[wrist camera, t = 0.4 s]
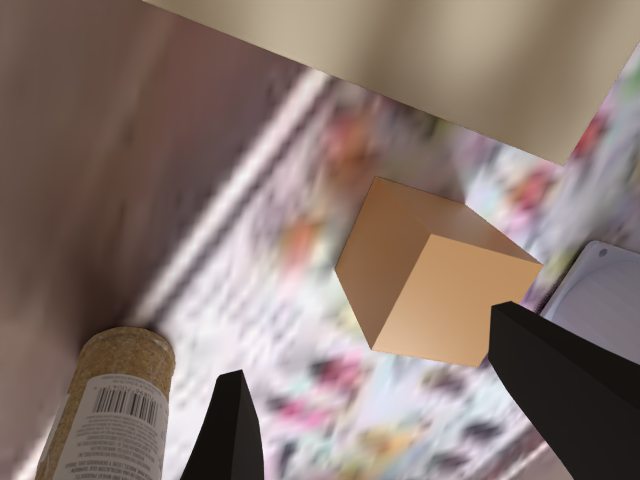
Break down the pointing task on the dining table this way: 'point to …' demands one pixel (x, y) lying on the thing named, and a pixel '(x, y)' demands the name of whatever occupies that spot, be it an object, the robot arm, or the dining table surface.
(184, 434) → the dining table surface
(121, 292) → the dining table surface
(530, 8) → the flat beige rectangular board
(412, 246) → the tan cardboard cube
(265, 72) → the dining table surface
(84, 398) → the sprinkles bottle
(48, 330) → the dining table surface
